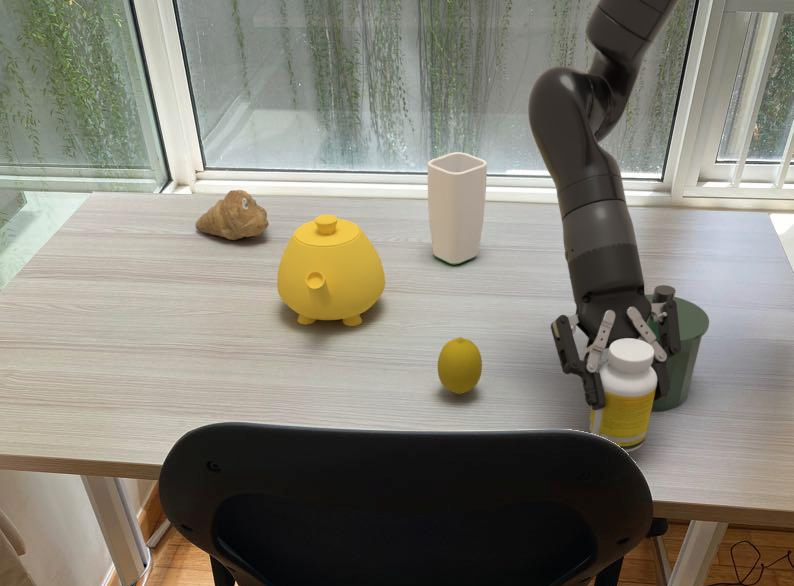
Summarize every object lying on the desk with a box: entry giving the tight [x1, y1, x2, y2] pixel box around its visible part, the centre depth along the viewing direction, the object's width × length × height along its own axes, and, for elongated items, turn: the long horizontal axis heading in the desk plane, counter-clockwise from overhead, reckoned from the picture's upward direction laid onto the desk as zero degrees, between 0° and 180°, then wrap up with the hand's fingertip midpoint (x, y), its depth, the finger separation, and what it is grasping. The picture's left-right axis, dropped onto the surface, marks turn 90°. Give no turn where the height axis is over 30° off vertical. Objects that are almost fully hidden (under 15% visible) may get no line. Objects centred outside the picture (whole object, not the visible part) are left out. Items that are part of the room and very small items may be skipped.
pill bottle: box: [587, 338, 657, 453], centre depth 96 cm, size 6×6×12 cm
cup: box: [427, 151, 488, 266], centre depth 135 cm, size 7×7×15 cm
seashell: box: [195, 189, 270, 241], centre depth 147 cm, size 14×8×8 cm
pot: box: [606, 336, 703, 412], centre depth 108 cm, size 10×10×10 cm
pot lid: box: [640, 284, 710, 345], centre depth 104 cm, size 11×11×5 cm
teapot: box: [276, 213, 386, 327], centre depth 123 cm, size 20×16×14 cm
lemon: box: [437, 336, 483, 395], centre depth 109 cm, size 6×6×8 cm
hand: (630, 403), depth 95 cm, fingers closed on pill bottle, 6 cm apart
